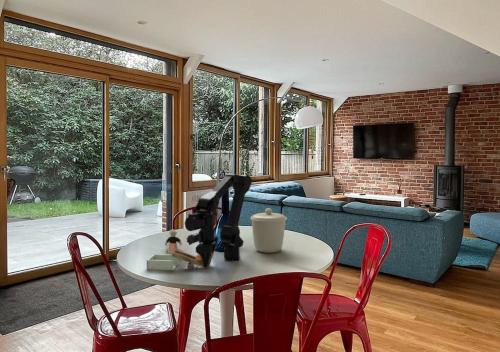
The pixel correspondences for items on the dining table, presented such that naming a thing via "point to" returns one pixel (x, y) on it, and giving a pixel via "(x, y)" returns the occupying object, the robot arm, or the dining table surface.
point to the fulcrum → (190, 267)
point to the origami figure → (168, 244)
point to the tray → (162, 262)
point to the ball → (198, 258)
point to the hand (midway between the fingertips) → (207, 263)
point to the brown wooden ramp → (190, 258)
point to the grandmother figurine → (172, 241)
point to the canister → (268, 231)
